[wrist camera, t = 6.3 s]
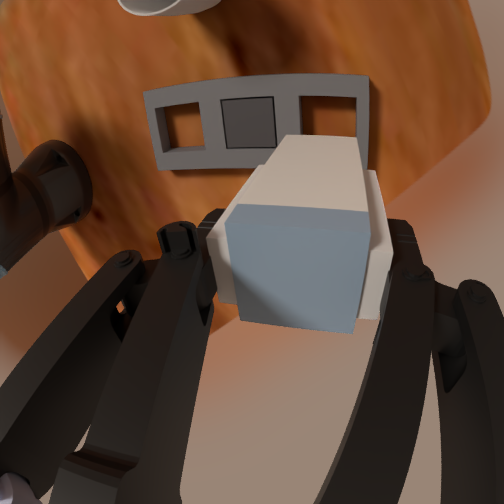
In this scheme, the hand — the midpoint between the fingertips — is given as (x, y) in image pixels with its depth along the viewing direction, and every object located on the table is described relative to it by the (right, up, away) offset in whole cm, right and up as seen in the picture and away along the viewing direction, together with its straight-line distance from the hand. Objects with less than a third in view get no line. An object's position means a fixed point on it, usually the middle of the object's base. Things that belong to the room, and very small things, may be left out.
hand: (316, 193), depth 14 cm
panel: (-3, +11, +17) cm, 20 cm away
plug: (+1, +2, +3) cm, 4 cm away
